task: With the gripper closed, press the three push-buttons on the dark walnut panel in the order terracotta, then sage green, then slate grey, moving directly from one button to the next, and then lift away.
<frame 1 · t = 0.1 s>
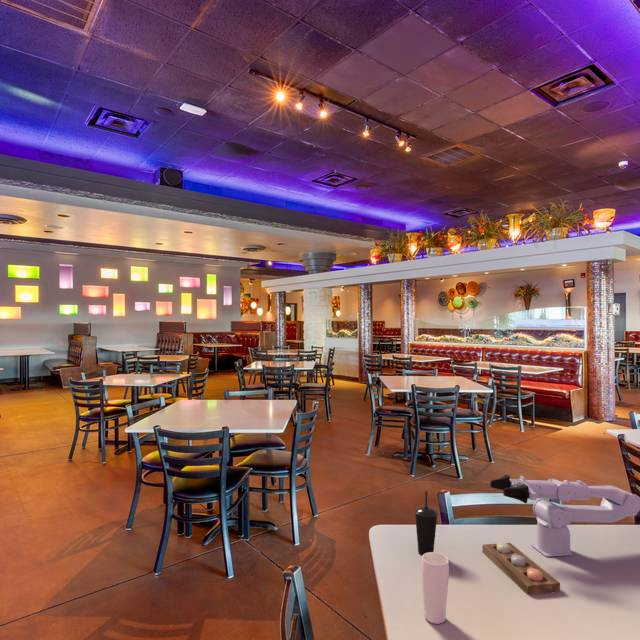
hand: (497, 487, 146), 22 cm above the table, tool horizontal, fingers open, 7 cm apart
drinking cup: (425, 553, 146), on the table
sage button: (503, 549, 144), point 2 cm above the table, slide at 0.0 cm
terracotta button: (534, 576, 128), point 2 cm above the table, slide at 0.0 cm
grey button: (518, 562, 136), point 2 cm above the table, slide at 0.0 cm
drinking glass: (434, 619, 113), on the table
panel: (518, 570, 136), on the table
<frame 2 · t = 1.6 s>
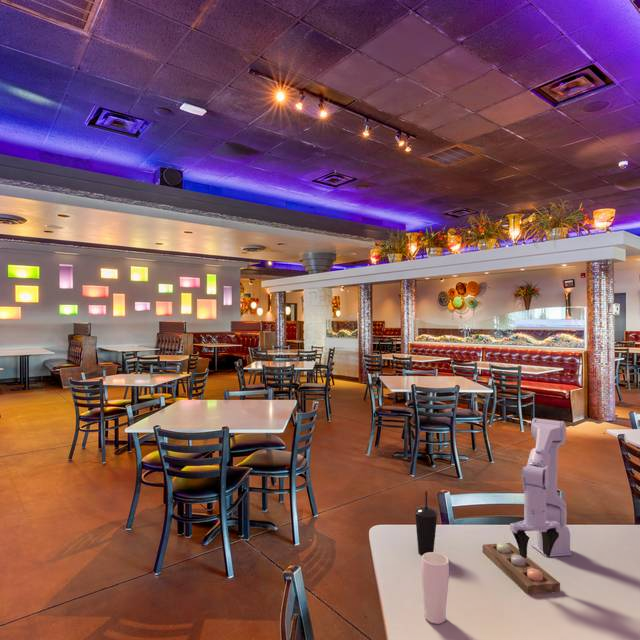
hand: (534, 555, 128), 8 cm above the table, tool pointing down, fingers open, 7 cm apart
nothing on the table moved.
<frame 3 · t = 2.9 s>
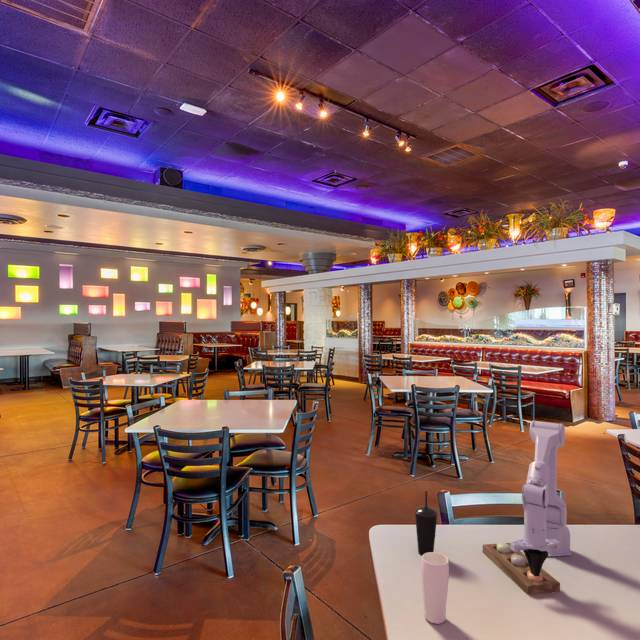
hand: (534, 574, 128), 3 cm above the table, tool pointing down, fingers closed, pressing on terracotta button
terracotta button: (534, 578, 128), point 2 cm above the table, slide at 0.7 cm, touching gripper
everything else where it was.
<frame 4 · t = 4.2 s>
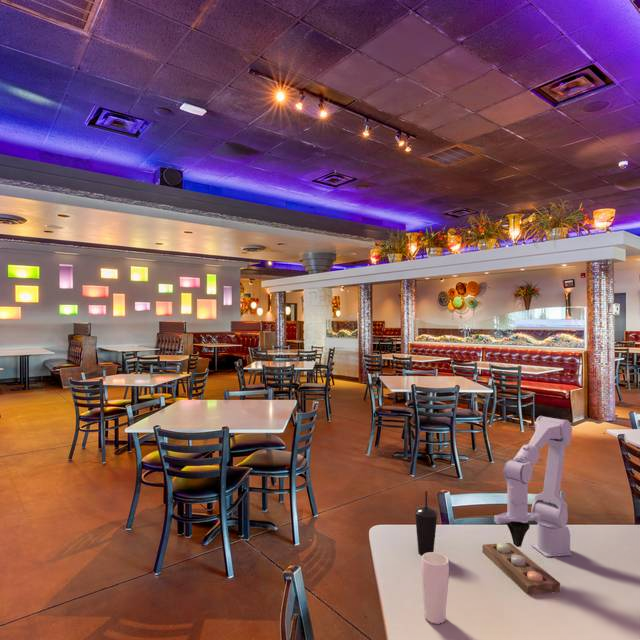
hand: (517, 545, 137), 7 cm above the table, tool pointing down, fingers closed
terracotta button: (534, 579, 128), point 2 cm above the table, slide at 0.8 cm
everything else where it was.
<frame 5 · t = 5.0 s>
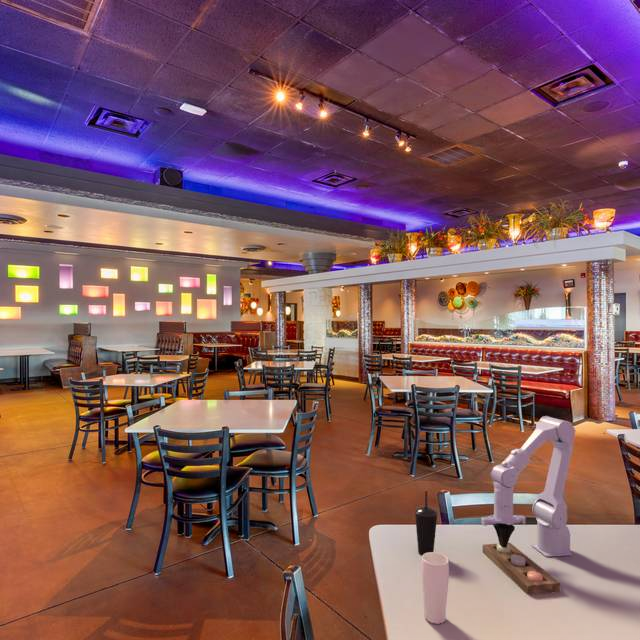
hand: (503, 546, 144), 4 cm above the table, tool pointing down, fingers closed, pressing on sage button
sage button: (503, 550, 144), point 2 cm above the table, slide at 0.2 cm, touching gripper
everything else where it was.
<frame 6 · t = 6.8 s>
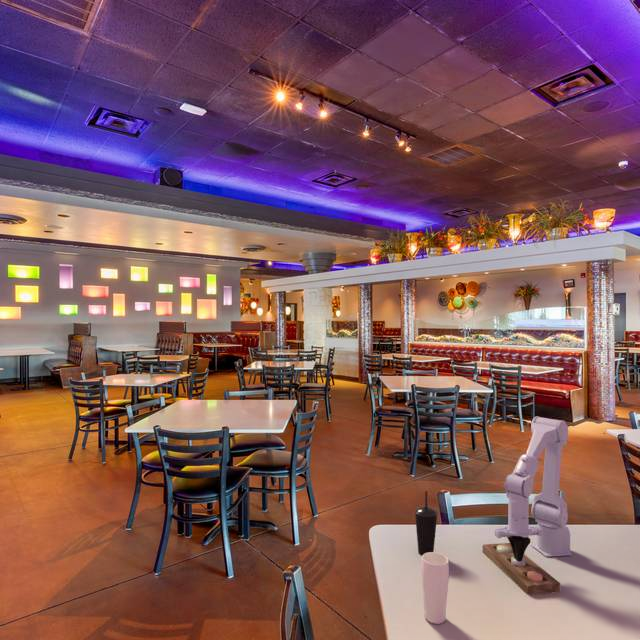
hand: (518, 559, 136), 3 cm above the table, tool pointing down, fingers closed, pressing on grey button
sage button: (503, 552, 144), point 2 cm above the table, slide at 0.8 cm
grey button: (518, 563, 136), point 2 cm above the table, slide at 0.5 cm, touching gripper
everything else where it was.
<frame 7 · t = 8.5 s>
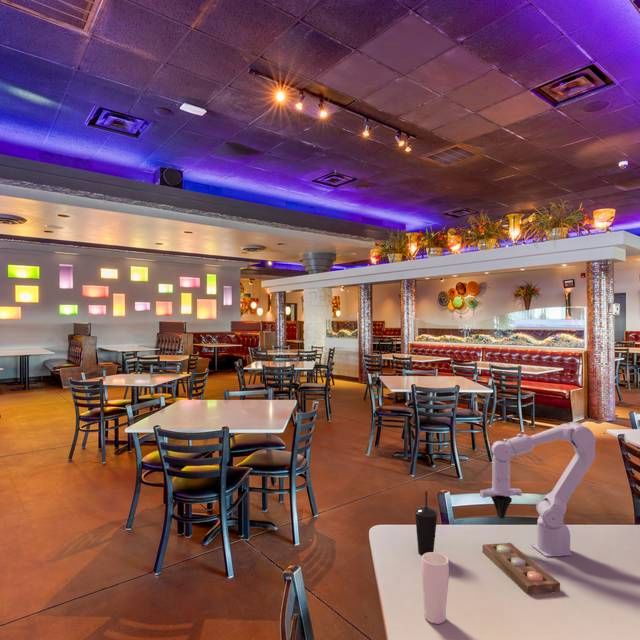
hand: (500, 517, 153), 9 cm above the table, tool pointing down, fingers closed
grey button: (518, 565, 136), point 2 cm above the table, slide at 0.8 cm
everything else where it was.
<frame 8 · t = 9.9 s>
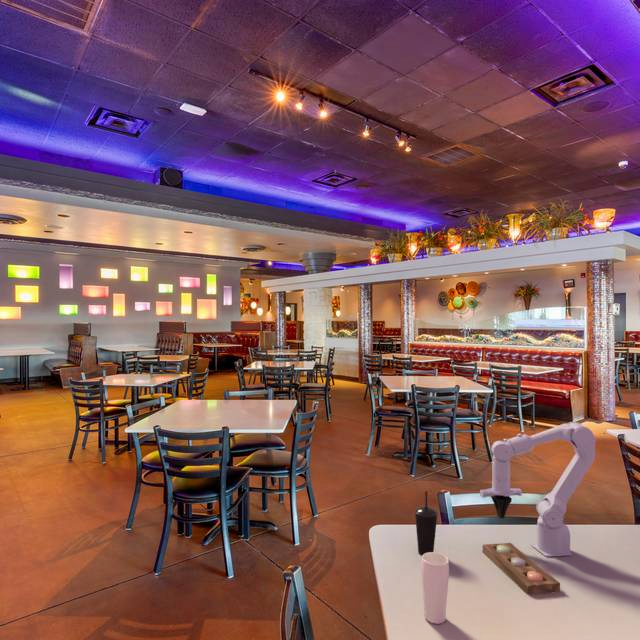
hand: (500, 517, 153), 9 cm above the table, tool pointing down, fingers closed
nothing on the table moved.
at the end: terracotta button slide at 0.8 cm; sage button slide at 0.8 cm; grey button slide at 0.8 cm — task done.
